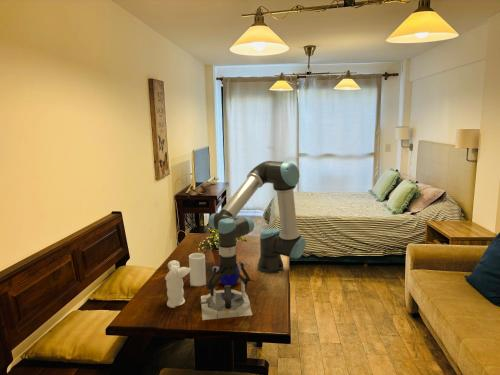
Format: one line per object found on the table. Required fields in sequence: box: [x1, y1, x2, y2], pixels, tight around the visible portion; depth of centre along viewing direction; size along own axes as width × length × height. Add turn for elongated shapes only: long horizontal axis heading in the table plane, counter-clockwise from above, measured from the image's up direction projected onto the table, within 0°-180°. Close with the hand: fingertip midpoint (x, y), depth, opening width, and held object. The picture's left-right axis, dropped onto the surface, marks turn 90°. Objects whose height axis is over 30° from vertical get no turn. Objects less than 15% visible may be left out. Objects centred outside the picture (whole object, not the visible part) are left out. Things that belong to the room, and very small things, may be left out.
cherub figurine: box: [164, 259, 191, 308], centre depth 171 cm, size 12×12×22 cm
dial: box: [208, 285, 243, 311], centre depth 168 cm, size 16×16×12 cm
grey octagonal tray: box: [199, 288, 253, 321], centre depth 169 cm, size 23×23×3 cm
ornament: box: [218, 267, 241, 287], centre depth 190 cm, size 11×9×15 cm
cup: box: [188, 252, 207, 287], centre depth 191 cm, size 8×8×16 cm
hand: (229, 299), depth 163 cm, fingers open, 13 cm apart
